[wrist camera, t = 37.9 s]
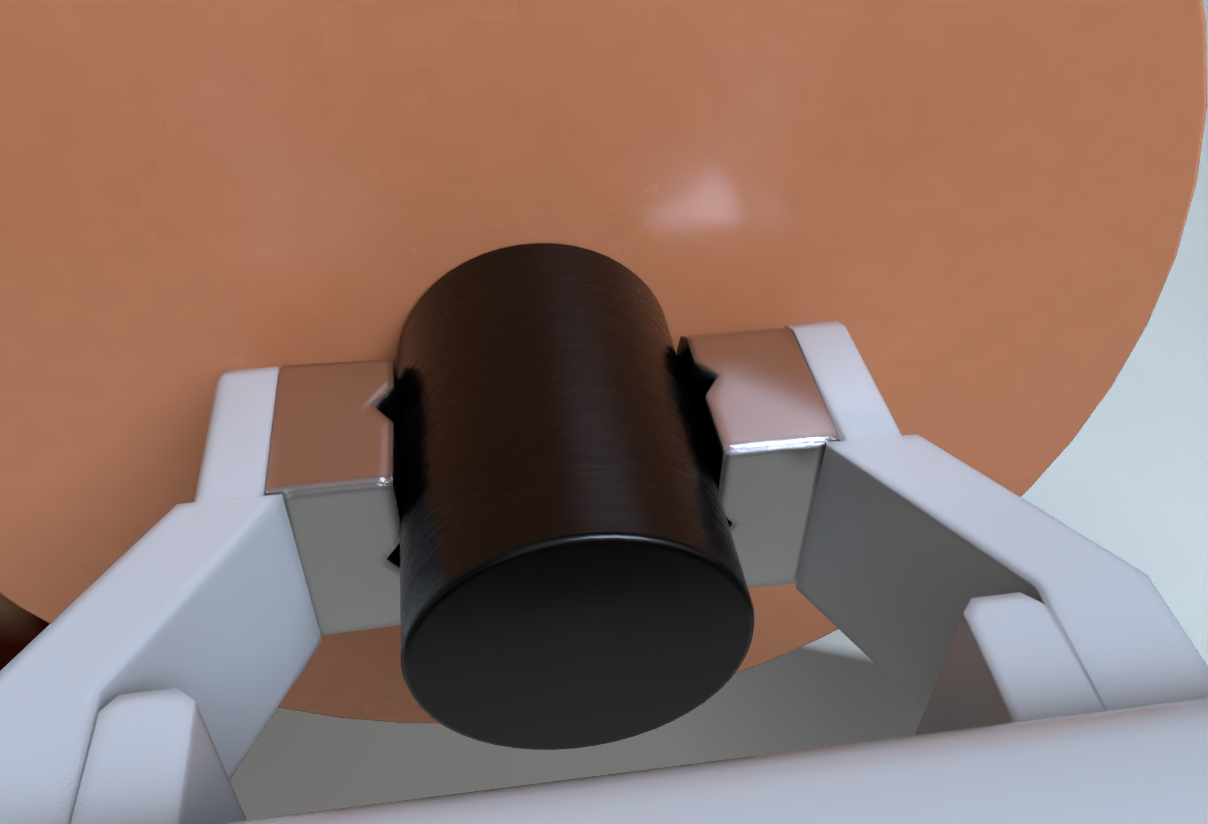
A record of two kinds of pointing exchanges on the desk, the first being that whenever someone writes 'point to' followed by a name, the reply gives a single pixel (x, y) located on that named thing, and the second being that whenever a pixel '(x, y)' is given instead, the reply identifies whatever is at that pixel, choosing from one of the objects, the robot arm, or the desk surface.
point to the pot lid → (562, 287)
